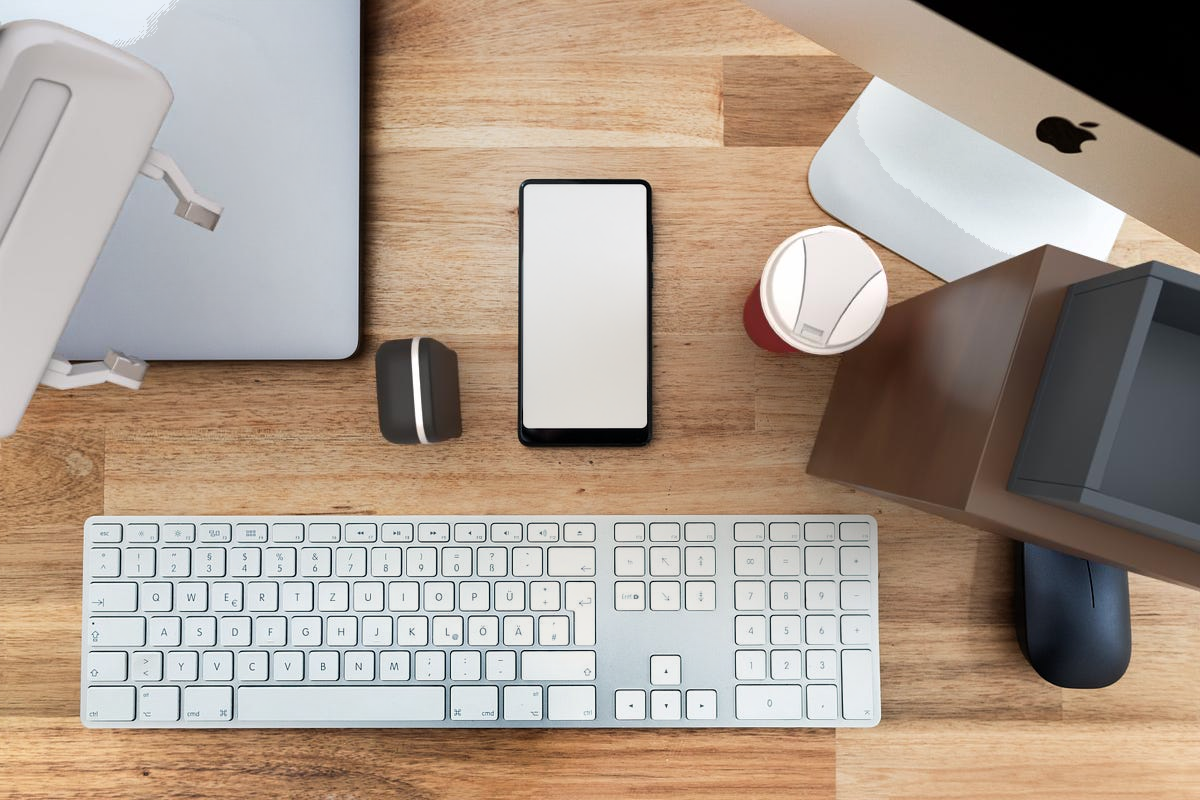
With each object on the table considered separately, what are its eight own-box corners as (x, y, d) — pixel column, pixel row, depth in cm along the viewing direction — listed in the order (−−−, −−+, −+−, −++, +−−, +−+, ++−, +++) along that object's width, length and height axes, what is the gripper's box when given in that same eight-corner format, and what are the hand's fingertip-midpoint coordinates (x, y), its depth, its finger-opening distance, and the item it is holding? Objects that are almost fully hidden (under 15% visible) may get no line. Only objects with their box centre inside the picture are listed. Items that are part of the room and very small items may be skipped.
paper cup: (808, 383, 65) (867, 372, 51) (713, 345, 65) (745, 324, 51) (846, 286, 65) (915, 248, 51) (751, 248, 65) (793, 200, 51)
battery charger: (406, 351, 65) (365, 335, 53) (457, 347, 65) (427, 331, 53) (413, 444, 64) (372, 449, 53) (463, 440, 64) (434, 444, 53)
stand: (852, 320, 65) (1047, 242, 37) (1031, 377, 65) (1362, 343, 37) (804, 473, 64) (963, 512, 36) (983, 530, 64) (1281, 614, 36)
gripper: (-244, 408, 35) (111, 490, 45) (-25, -45, 35) (279, 133, 45) (-237, 369, 39) (84, 451, 49) (-43, -32, 40) (237, 127, 50)
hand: (179, 296), depth 47 cm, fingers open, 8 cm apart
